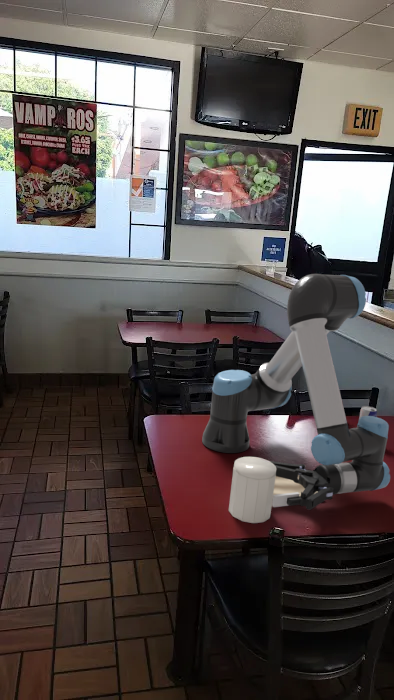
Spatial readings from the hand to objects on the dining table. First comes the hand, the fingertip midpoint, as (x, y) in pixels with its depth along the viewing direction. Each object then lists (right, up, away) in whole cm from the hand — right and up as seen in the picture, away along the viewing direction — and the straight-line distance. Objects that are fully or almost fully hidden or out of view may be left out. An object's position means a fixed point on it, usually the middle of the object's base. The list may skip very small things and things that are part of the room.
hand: (259, 486), depth 120 cm
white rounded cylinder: (-2, -7, +2) cm, 7 cm away
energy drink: (+43, +1, +54) cm, 69 cm away
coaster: (+9, -5, +14) cm, 18 cm away
